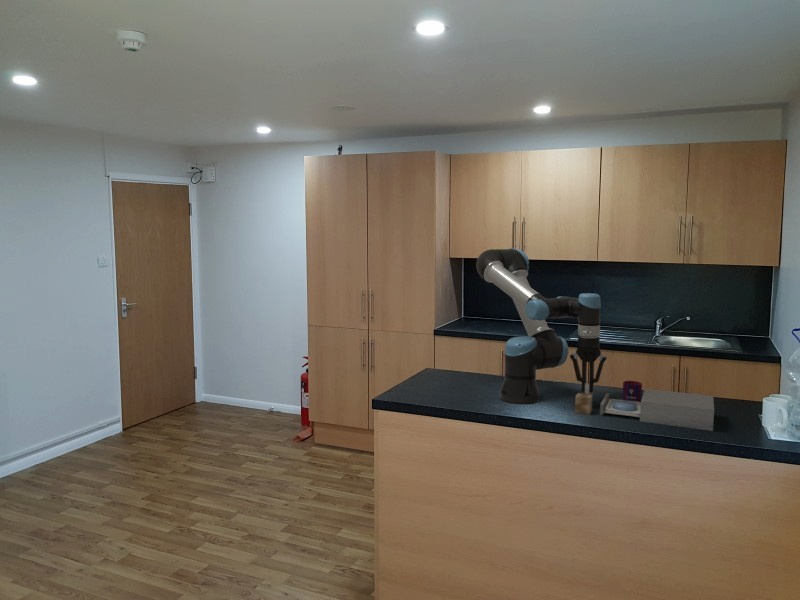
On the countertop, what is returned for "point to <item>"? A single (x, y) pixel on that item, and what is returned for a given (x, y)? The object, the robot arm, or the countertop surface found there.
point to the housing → (677, 409)
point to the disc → (624, 405)
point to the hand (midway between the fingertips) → (587, 400)
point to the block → (583, 403)
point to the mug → (632, 391)
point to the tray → (607, 408)
